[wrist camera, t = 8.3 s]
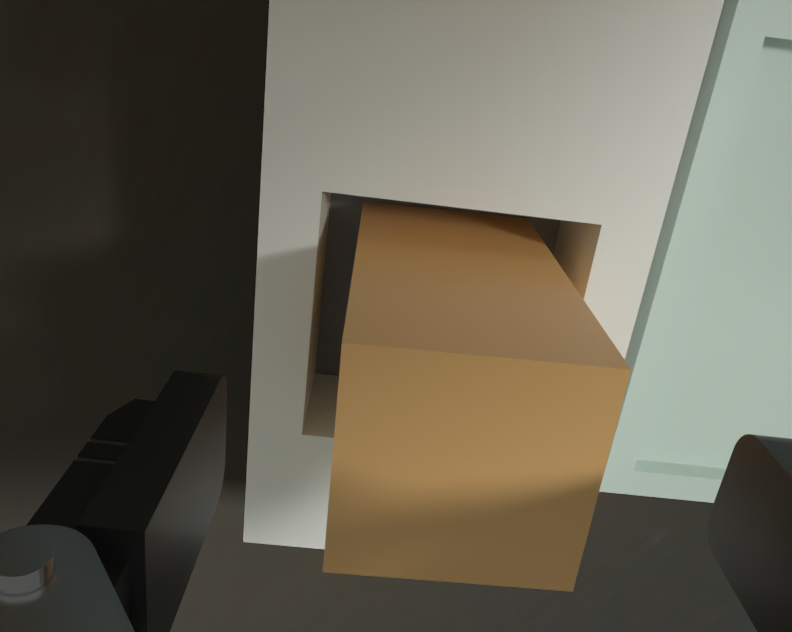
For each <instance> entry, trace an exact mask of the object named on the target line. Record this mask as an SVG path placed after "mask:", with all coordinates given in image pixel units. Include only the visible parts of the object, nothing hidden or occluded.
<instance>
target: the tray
mask: <svg viewBox="0 0 792 632" xmlns="http://www.w3.org/2000/svg"><path fill="white" fill-rule="evenodd" d="M625 361H626V363H627V364H628V365H629V367H630V368H631V373H630V376H629V380H628V384H627V388H626V392H625V395H624V399H623V403H622V407H621V410H620V414H619V418H618V422H617V426H616V429H615V433H614V437H613V441H612V445H611V448H610V452H609V456H608V460H607V464H606V467H605V471H604V475H603V479H602V482H601V486H600V490H599V491H600V492H610V493H620V494H630V495H640V496H650V497H660V498H670V499H681V500H691V501H701V502H711V503H714V501H715V498H716V495H717V493H718V490H719V487H720V485H721V482H722V479H723V476H724V474H725V471H726V468H727V465H728V463H729V460H730V457H731V454H732V452H733V449H734V447H735V444H736V443H737V441H738V440H739V439H740V438H741V437H742V436H744V435H746V434H753V435H762V436H771V437H781V438H790V439H792V0H724V4H723V7H722V11H721V15H720V18H719V22H718V25H717V29H716V33H715V36H714V40H713V44H712V47H711V51H710V54H709V58H708V62H707V65H706V69H705V72H704V76H703V80H702V83H701V87H700V90H699V94H698V98H697V101H696V105H695V108H694V112H693V116H692V119H691V123H690V126H689V130H688V134H687V137H686V141H685V144H684V148H683V152H682V155H681V159H680V162H679V166H678V170H677V173H676V177H675V181H674V184H673V188H672V191H671V195H670V199H669V202H668V206H667V209H666V213H665V217H664V220H663V224H662V227H661V231H660V235H659V238H658V242H657V245H656V249H655V253H654V256H653V260H652V263H651V267H650V271H649V274H648V278H647V281H646V285H645V289H644V292H643V296H642V299H641V303H640V307H639V310H638V314H637V318H636V321H635V325H634V328H633V332H632V336H631V339H630V343H629V346H628V350H627V354H626V357H625Z"/></svg>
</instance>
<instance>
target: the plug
mask: <svg viewBox="0 0 792 632" xmlns="http://www.w3.org/2000/svg"><path fill="white" fill-rule="evenodd" d="M630 373H631V368H630V367H629V365H628V364H627V363H626V361H625V360H624V358H623V357H622V355H621V354H620V352H619V351H618V349H617V348H616V346H615V345H614V344H613V342H612V341H611V339H610V338H609V336H608V335H607V333H606V332H605V330H604V329H603V327H602V326H601V325H600V323H599V322H598V320H597V319H596V317H595V316H594V314H593V313H592V311H591V310H590V309H589V307H588V306H587V304H586V303H585V301H584V300H583V298H582V297H581V295H580V294H579V292H578V291H577V290H576V288H575V287H574V285H573V284H572V282H571V281H570V279H569V278H568V276H567V275H566V273H565V272H564V271H563V269H562V268H561V266H560V265H559V263H558V262H557V260H556V259H555V257H554V256H553V255H552V253H551V252H550V250H549V249H548V247H547V246H546V244H545V243H544V241H543V240H542V238H541V237H540V236H539V234H538V233H537V231H536V230H535V228H534V227H533V225H532V224H531V222H530V221H529V219H528V218H520V217H510V216H500V215H491V214H481V213H471V212H461V211H452V210H442V209H432V208H422V207H412V206H403V205H393V204H383V203H373V202H363V207H362V214H361V221H360V227H359V234H358V240H357V247H356V253H355V260H354V266H353V273H352V279H351V286H350V293H349V299H348V306H347V312H346V319H345V325H344V332H343V338H342V347H341V359H340V371H339V383H338V395H337V407H336V419H335V431H334V443H333V455H332V467H331V478H330V490H329V502H328V514H327V526H326V538H325V550H324V562H323V572H327V573H340V574H353V575H366V576H379V577H392V578H405V579H418V580H431V581H443V582H456V583H469V584H482V585H495V586H508V587H521V588H534V589H547V590H560V591H573V589H574V585H575V581H576V577H577V573H578V570H579V566H580V562H581V558H582V555H583V551H584V547H585V543H586V539H587V536H588V532H589V528H590V524H591V520H592V517H593V513H594V509H595V505H596V501H597V498H598V494H599V490H600V486H601V482H602V479H603V475H604V471H605V467H606V464H607V460H608V456H609V452H610V448H611V445H612V441H613V437H614V433H615V429H616V426H617V422H618V418H619V414H620V410H621V407H622V403H623V399H624V395H625V392H626V388H627V384H628V380H629V376H630Z"/></svg>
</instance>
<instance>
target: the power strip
mask: <svg viewBox="0 0 792 632" xmlns="http://www.w3.org/2000/svg"><path fill="white" fill-rule="evenodd" d="M723 4H724V0H269V20H268V40H267V61H266V82H265V102H264V123H263V144H262V164H261V185H260V206H259V226H258V247H257V268H256V289H255V309H254V330H253V351H252V371H251V392H250V413H249V433H248V454H247V475H246V495H245V516H244V537H243V542H251V543H262V544H273V545H283V546H294V547H305V548H316V549H325V538H326V526H327V514H328V502H329V490H330V478H331V467H332V455H333V443H334V431H335V419H336V407H337V395H338V383H339V371H340V359H341V347H342V338H343V332H344V325H345V319H346V312H347V306H348V299H349V293H350V286H351V279H352V273H353V266H354V260H355V253H356V247H357V240H358V234H359V227H360V221H361V214H362V207H363V202H373V203H383V204H393V205H403V206H412V207H422V208H432V209H442V210H452V211H461V212H471V213H481V214H491V215H500V216H510V217H520V218H528V219H529V221H530V222H531V224H532V225H533V227H534V228H535V230H536V231H537V233H538V234H539V236H540V237H541V238H542V240H543V241H544V243H545V244H546V246H547V247H548V249H549V250H550V252H551V253H552V255H553V256H554V257H555V259H556V260H557V262H558V263H559V265H560V266H561V268H562V269H563V271H564V272H565V273H566V275H567V276H568V278H569V279H570V281H571V282H572V284H573V285H574V287H575V288H576V290H577V291H578V292H579V294H580V295H581V297H582V298H583V300H584V301H585V303H586V304H587V306H588V307H589V309H590V310H591V311H592V313H593V314H594V316H595V317H596V319H597V320H598V322H599V323H600V325H601V326H602V327H603V329H604V330H605V332H606V333H607V335H608V336H609V338H610V339H611V341H612V342H613V344H614V345H615V346H616V348H617V349H618V351H619V352H620V354H621V355H622V357H623V358H624V360H625V357H626V354H627V350H628V346H629V343H630V339H631V336H632V332H633V328H634V325H635V321H636V318H637V314H638V310H639V307H640V303H641V299H642V296H643V292H644V289H645V285H646V281H647V278H648V274H649V271H650V267H651V263H652V260H653V256H654V253H655V249H656V245H657V242H658V238H659V235H660V231H661V227H662V224H663V220H664V217H665V213H666V209H667V206H668V202H669V199H670V195H671V191H672V188H673V184H674V181H675V177H676V173H677V170H678V166H679V162H680V159H681V155H682V152H683V148H684V144H685V141H686V137H687V134H688V130H689V126H690V123H691V119H692V116H693V112H694V108H695V105H696V101H697V98H698V94H699V90H700V87H701V83H702V80H703V76H704V72H705V69H706V65H707V62H708V58H709V54H710V51H711V47H712V44H713V40H714V36H715V33H716V29H717V25H718V22H719V18H720V15H721V11H722V7H723Z"/></svg>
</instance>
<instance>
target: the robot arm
mask: <svg viewBox="0 0 792 632" xmlns="http://www.w3.org/2000/svg"><path fill="white" fill-rule="evenodd" d="M226 421H227V380H226V377H225V376H220V375H211V374H202V373H193V372H183V371H175V372H174V373H173V374H172V376H171V377H170V379H169V380H168V382H167V384H166V385H165V387H164V388H163V390H162V391H161V393H160V394H159V396H158V398H157V399H156V401H148V400H139V399H134V400H132V401H131V402H129V403H127V404H126V405H124V406H122V407H121V408H119V409H118V410H116V411H114V412H113V413H111V414H109V415H108V416H107V417H106V418H105V419H104V421H103V422H102V423H101V425H100V426H99V427H98V429H97V430H96V431H95V433H94V434H93V436H92V437H91V441H90V442H87V444H86V445H85V446H84V448H83V449H82V451H81V452H80V453H79V455H78V458H77V461H75V460H74V461H73V463H72V464H71V465H70V467H69V468H68V470H67V471H66V472H65V474H64V475H63V476H62V478H61V479H60V480H59V482H58V483H57V484H56V486H55V487H54V489H53V490H52V491H51V493H50V494H49V495H48V497H47V498H46V499H45V501H44V502H43V503H42V505H41V506H40V508H39V509H38V510H37V512H36V513H35V514H34V516H33V517H32V518H31V520H30V521H29V523H28V524H27V525H26V526H22V527H18V528H14V529H10V530H7V531H4V532H1V533H0V632H170V629H171V627H172V624H173V621H174V619H175V616H176V613H177V611H178V608H179V605H180V603H181V600H182V597H183V595H184V592H185V589H186V587H187V584H188V581H189V579H190V576H191V573H192V571H193V568H194V565H195V563H196V560H197V558H198V555H199V552H200V550H201V547H202V544H203V542H204V539H205V536H206V534H207V531H208V528H209V526H210V523H211V520H212V518H213V515H214V512H215V510H216V507H217V504H218V501H219V498H220V494H221V489H222V484H223V478H224V471H225V454H226ZM708 539H709V544H710V548H711V551H712V553H713V556H714V557H715V559H716V561H717V563H718V564H719V566H720V568H721V570H722V571H723V573H724V575H725V576H726V578H727V580H728V582H729V583H730V585H731V587H732V588H733V590H734V592H735V594H736V595H737V597H738V599H739V600H740V602H741V604H742V606H743V607H744V609H745V611H746V613H747V614H748V616H749V618H750V619H751V621H752V623H753V625H754V626H755V628H756V630H757V631H758V632H792V439H790V438H781V437H771V436H762V435H753V434H746V435H744V436H742V437H741V438H740V439H739V440H738V441H737V443H736V444H735V447H734V449H733V452H732V454H731V457H730V460H729V463H728V465H727V468H726V471H725V474H724V476H723V479H722V482H721V485H720V487H719V490H718V493H717V495H716V498H715V501H714V504H713V506H712V509H711V512H710V515H709V521H708Z"/></svg>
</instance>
